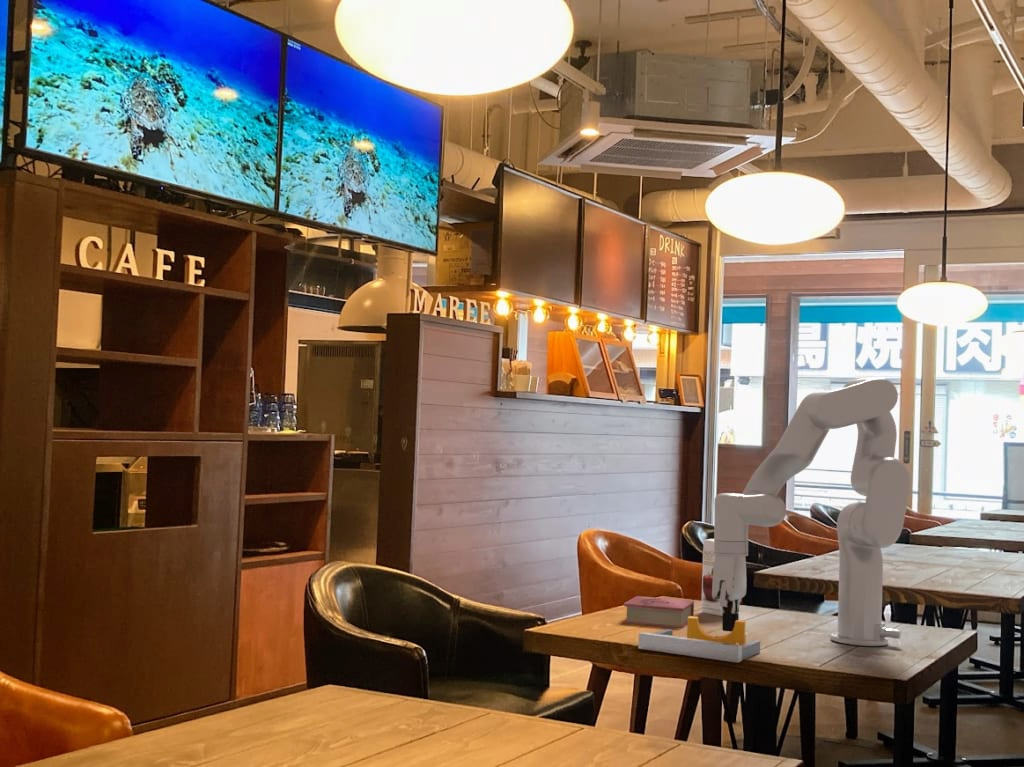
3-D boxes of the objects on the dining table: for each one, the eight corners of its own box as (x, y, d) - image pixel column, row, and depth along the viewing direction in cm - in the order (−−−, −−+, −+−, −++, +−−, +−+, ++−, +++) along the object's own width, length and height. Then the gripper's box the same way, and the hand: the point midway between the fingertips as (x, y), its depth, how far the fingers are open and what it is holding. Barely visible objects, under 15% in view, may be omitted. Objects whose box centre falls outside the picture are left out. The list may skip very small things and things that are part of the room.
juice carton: (716, 610, 302) (718, 538, 303) (741, 615, 296) (744, 541, 296) (697, 612, 297) (699, 538, 298) (722, 617, 291) (725, 541, 292)
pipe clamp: (745, 649, 247) (746, 619, 247) (743, 653, 242) (744, 622, 243) (689, 644, 250) (690, 615, 250) (686, 648, 246) (687, 617, 246)
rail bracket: (761, 652, 243) (761, 637, 243) (738, 662, 231) (738, 646, 231) (665, 639, 254) (665, 625, 254) (638, 648, 242) (638, 633, 242)
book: (693, 620, 286) (694, 600, 286) (682, 629, 272) (683, 608, 272) (637, 615, 291) (637, 595, 291) (623, 624, 276) (624, 603, 277)
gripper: (726, 544, 266) (726, 624, 265) (702, 550, 253) (702, 633, 252) (758, 547, 262) (757, 628, 261) (735, 552, 249) (734, 637, 248)
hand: (730, 630), depth 257 cm, fingers closed
